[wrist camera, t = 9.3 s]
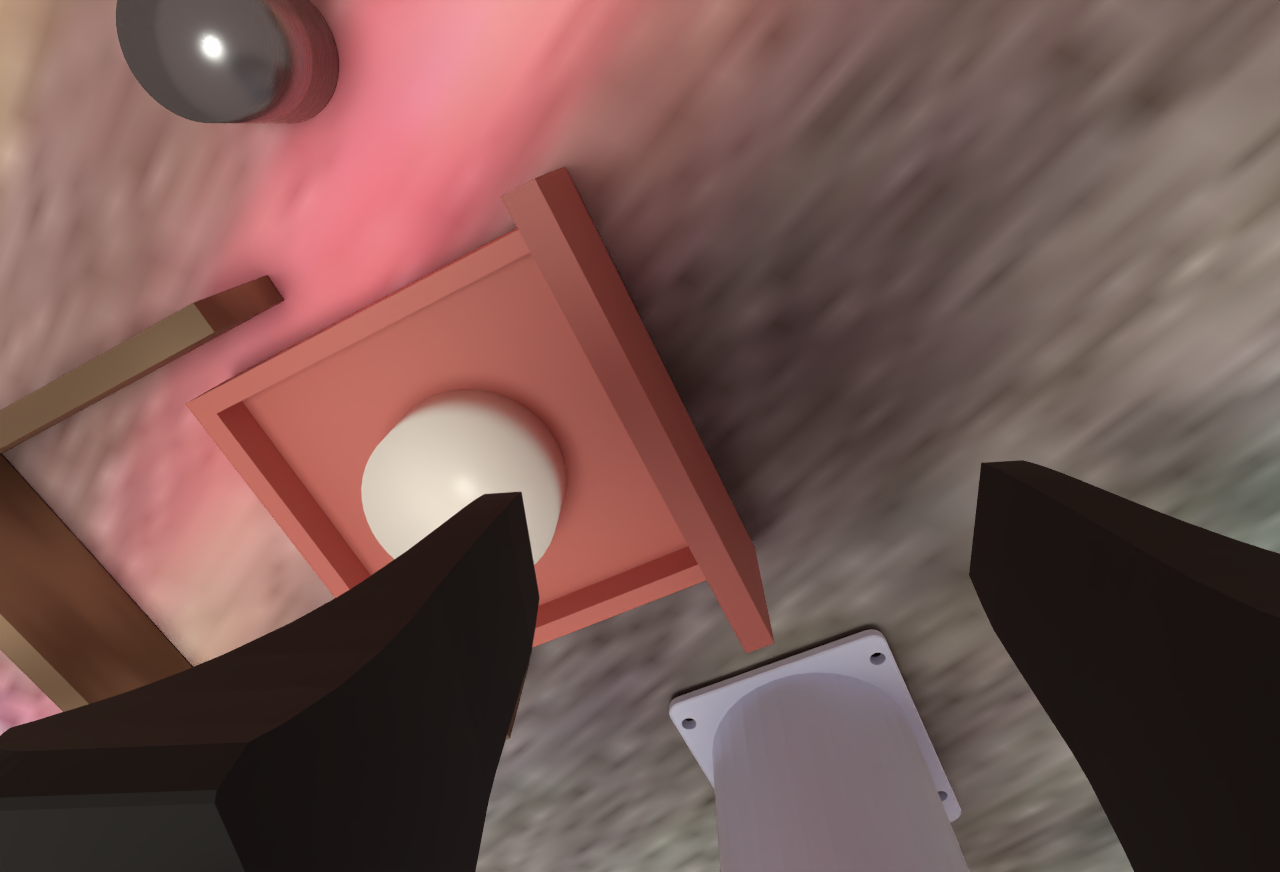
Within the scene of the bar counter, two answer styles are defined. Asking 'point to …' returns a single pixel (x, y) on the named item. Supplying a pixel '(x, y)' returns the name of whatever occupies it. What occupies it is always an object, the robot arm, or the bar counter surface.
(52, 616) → the cabinet
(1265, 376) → the bar counter surface
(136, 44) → the cylinder
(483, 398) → the white dome
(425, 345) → the drawer
